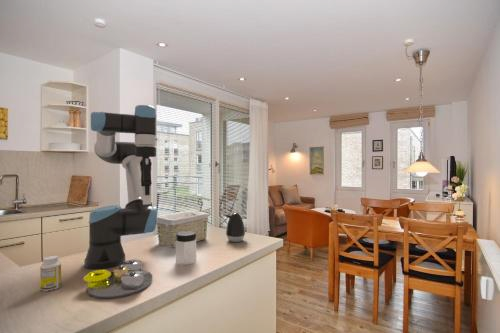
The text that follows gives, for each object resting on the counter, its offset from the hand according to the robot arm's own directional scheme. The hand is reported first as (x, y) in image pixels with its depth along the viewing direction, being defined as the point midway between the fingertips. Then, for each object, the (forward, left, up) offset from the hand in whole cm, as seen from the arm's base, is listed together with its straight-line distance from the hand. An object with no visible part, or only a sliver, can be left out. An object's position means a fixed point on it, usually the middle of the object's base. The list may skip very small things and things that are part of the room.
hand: (145, 202), depth 104 cm
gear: (-5, -17, -25) cm, 31 cm away
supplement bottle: (-20, -22, -27) cm, 40 cm away
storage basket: (-11, +40, -27) cm, 50 cm away
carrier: (0, -12, -27) cm, 29 cm away
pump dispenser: (+15, +51, -27) cm, 60 cm away
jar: (+8, +15, -27) cm, 32 cm away
